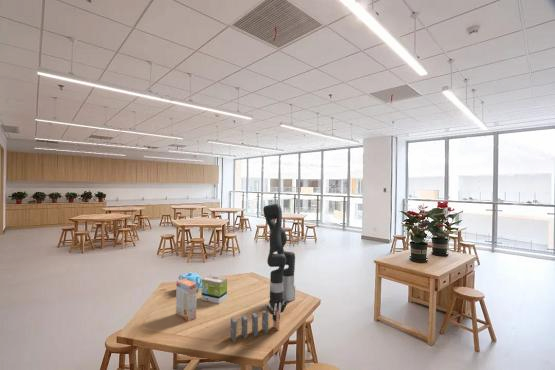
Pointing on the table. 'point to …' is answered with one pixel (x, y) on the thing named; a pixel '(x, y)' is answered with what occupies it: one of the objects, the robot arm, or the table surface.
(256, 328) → the domino
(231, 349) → the table surface
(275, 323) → the domino
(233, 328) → the domino
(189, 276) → the decorative pot
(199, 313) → the table surface
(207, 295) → the tea box
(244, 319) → the domino
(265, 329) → the domino
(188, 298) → the cracker box
